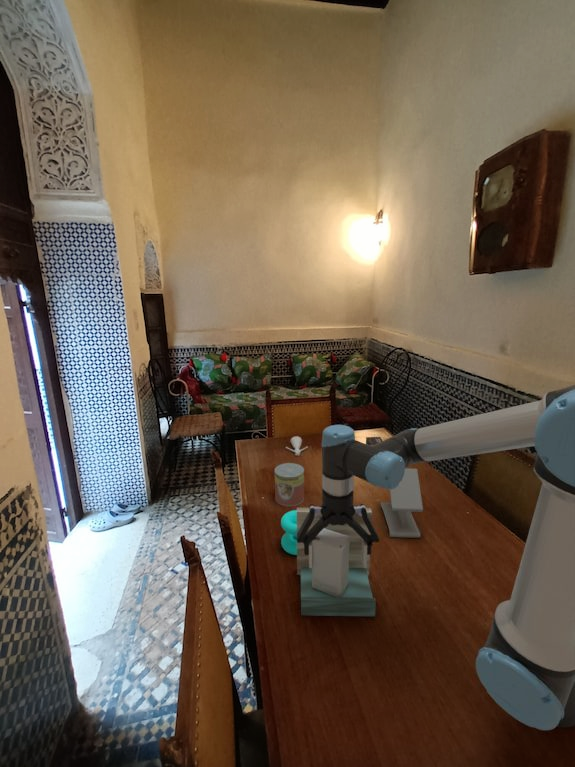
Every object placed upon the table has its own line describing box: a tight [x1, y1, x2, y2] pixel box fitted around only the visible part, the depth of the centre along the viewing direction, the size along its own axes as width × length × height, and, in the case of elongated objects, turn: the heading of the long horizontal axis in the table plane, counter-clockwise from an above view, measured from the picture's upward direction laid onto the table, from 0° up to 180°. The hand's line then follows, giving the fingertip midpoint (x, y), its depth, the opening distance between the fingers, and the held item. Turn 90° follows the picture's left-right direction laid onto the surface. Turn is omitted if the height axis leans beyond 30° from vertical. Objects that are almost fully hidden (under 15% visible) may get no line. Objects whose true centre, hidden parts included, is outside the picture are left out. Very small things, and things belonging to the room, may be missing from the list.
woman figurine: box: [285, 435, 309, 457], centre depth 182 cm, size 12×4×18 cm
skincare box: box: [312, 528, 350, 597], centre depth 91 cm, size 8×6×15 cm
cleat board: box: [296, 507, 377, 617], centre depth 92 cm, size 15×20×20 cm
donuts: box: [280, 509, 297, 556], centre depth 111 cm, size 10×10×10 cm
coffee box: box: [365, 436, 383, 446], centre depth 153 cm, size 9×6×16 cm
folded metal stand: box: [379, 467, 424, 539], centre depth 121 cm, size 18×10×20 cm, turn 176°
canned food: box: [274, 462, 305, 507], centre depth 137 cm, size 11×11×12 cm
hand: (337, 564), depth 91 cm, fingers open, 13 cm apart
